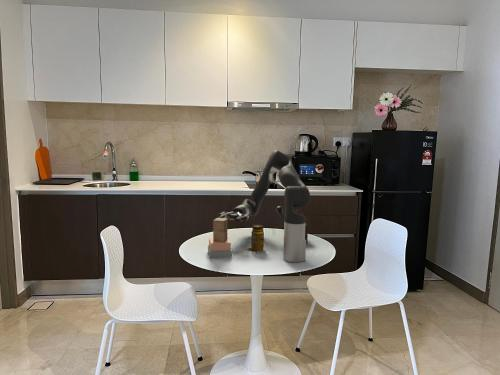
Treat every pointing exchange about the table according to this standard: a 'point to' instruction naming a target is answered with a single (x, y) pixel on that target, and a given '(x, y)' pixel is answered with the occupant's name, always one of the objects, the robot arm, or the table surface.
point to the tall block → (220, 230)
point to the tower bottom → (219, 253)
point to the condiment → (257, 239)
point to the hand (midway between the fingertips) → (228, 219)
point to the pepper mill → (279, 210)
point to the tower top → (219, 245)
